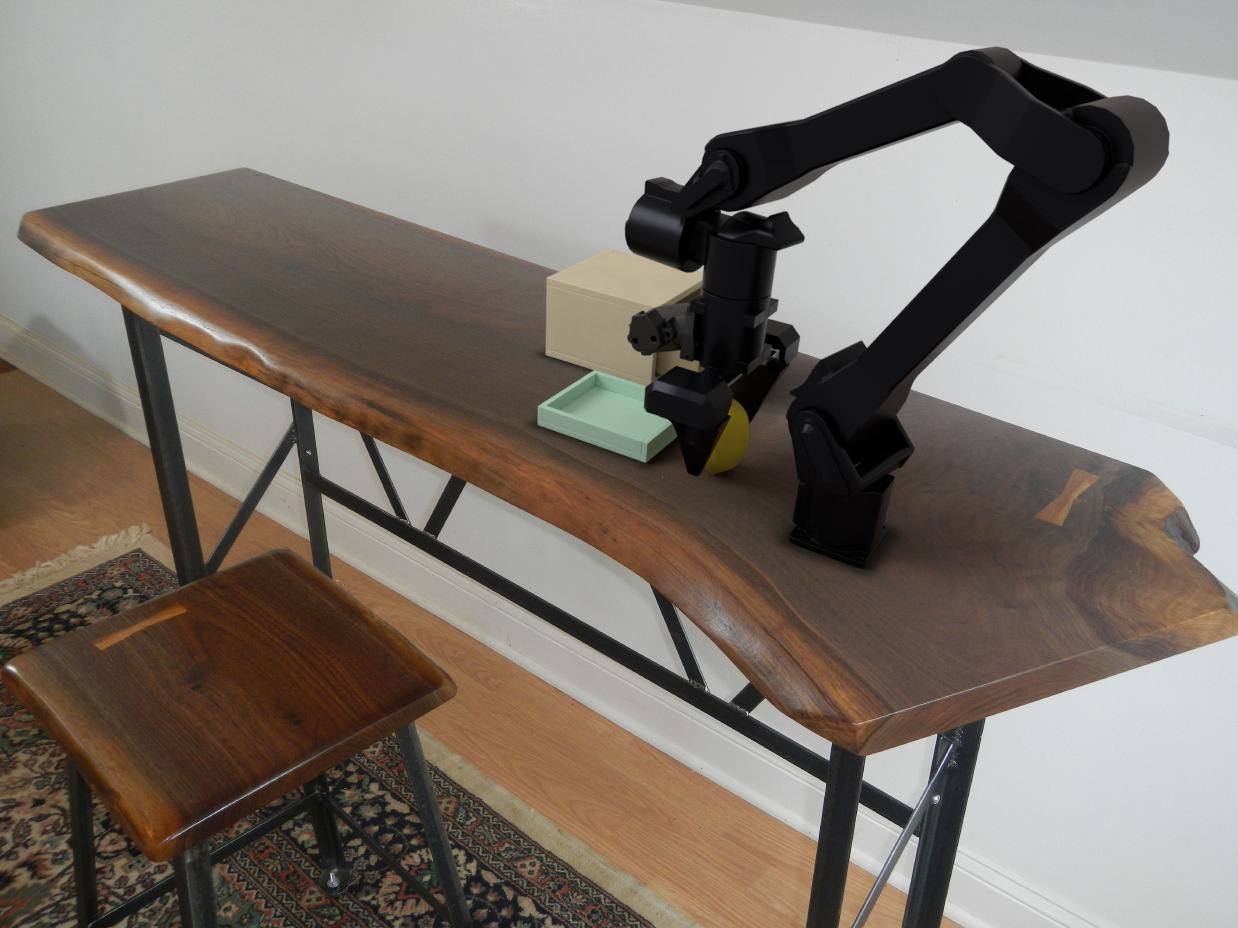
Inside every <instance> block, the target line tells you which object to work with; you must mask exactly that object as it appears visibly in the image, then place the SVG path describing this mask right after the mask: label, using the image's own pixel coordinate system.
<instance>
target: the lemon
mask: <svg viewBox="0 0 1238 928" xmlns="http://www.w3.org/2000/svg"><path fill="white" fill-rule="evenodd" d="M728 415H730V416H731V418H730V420H729V422H728V424H727V426H726V428H725V430H724V432H723V433H722V435H721V437H720V439H719V441H718V443H717V445H716V447H715V449H714V450H713V452H712V454H711V456H710V458H709V460H708V462H707V464H706V465H705V467H704V469H703V470H705V471H707V472H709V473H710V474H711V475H717V474H719V473H723V472H727V471H730V470H732V469H734V468H735V467H736V466H738V465H739V463H741V461H742V460H743V459H744V457H745V455H746V452H747V450H748V448H749V444H750V437H751V434H750V433H751V430H750V429H751V428H750V425H749V420H748V416H747V413H746V411H745V410H744V408H743V407H742V406H741V405H740V404H739V403H738V402H737V401H736V400H734V399H732V406H731V408H730V410H729V413H728Z"/></svg>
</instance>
